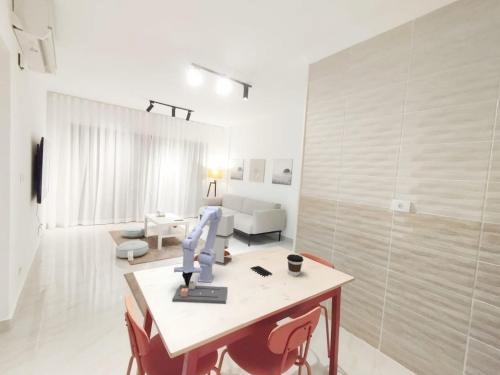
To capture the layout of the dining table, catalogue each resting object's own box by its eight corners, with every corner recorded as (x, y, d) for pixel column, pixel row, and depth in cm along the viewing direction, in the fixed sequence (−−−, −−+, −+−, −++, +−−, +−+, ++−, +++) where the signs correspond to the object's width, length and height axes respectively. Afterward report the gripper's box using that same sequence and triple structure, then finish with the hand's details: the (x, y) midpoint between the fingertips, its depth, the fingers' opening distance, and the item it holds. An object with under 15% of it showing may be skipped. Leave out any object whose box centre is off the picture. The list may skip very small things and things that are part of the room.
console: (180, 287, 125) (180, 284, 125) (227, 289, 126) (227, 286, 126) (172, 301, 111) (172, 298, 111) (225, 303, 112) (225, 300, 112)
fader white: (189, 286, 124) (190, 280, 124) (195, 286, 124) (195, 281, 124) (188, 288, 121) (188, 283, 121) (194, 289, 121) (194, 283, 121)
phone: (263, 276, 145) (249, 267, 157) (263, 277, 145) (249, 269, 157) (273, 273, 150) (258, 265, 162) (272, 275, 150) (258, 267, 162)
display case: (224, 265, 159) (227, 216, 158) (211, 263, 163) (213, 214, 161) (231, 260, 170) (234, 214, 168) (218, 258, 174) (221, 212, 172)
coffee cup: (295, 279, 144) (296, 261, 144) (282, 273, 153) (283, 255, 152) (305, 275, 152) (307, 257, 151) (292, 269, 160) (293, 253, 159)
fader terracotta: (182, 293, 116) (182, 287, 116) (188, 293, 116) (188, 288, 116) (180, 296, 113) (180, 290, 113) (186, 296, 113) (186, 291, 113)
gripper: (172, 262, 117) (171, 288, 118) (200, 264, 118) (199, 289, 118) (176, 257, 124) (175, 282, 125) (203, 259, 125) (201, 283, 126)
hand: (187, 285), depth 122 cm, fingers closed
